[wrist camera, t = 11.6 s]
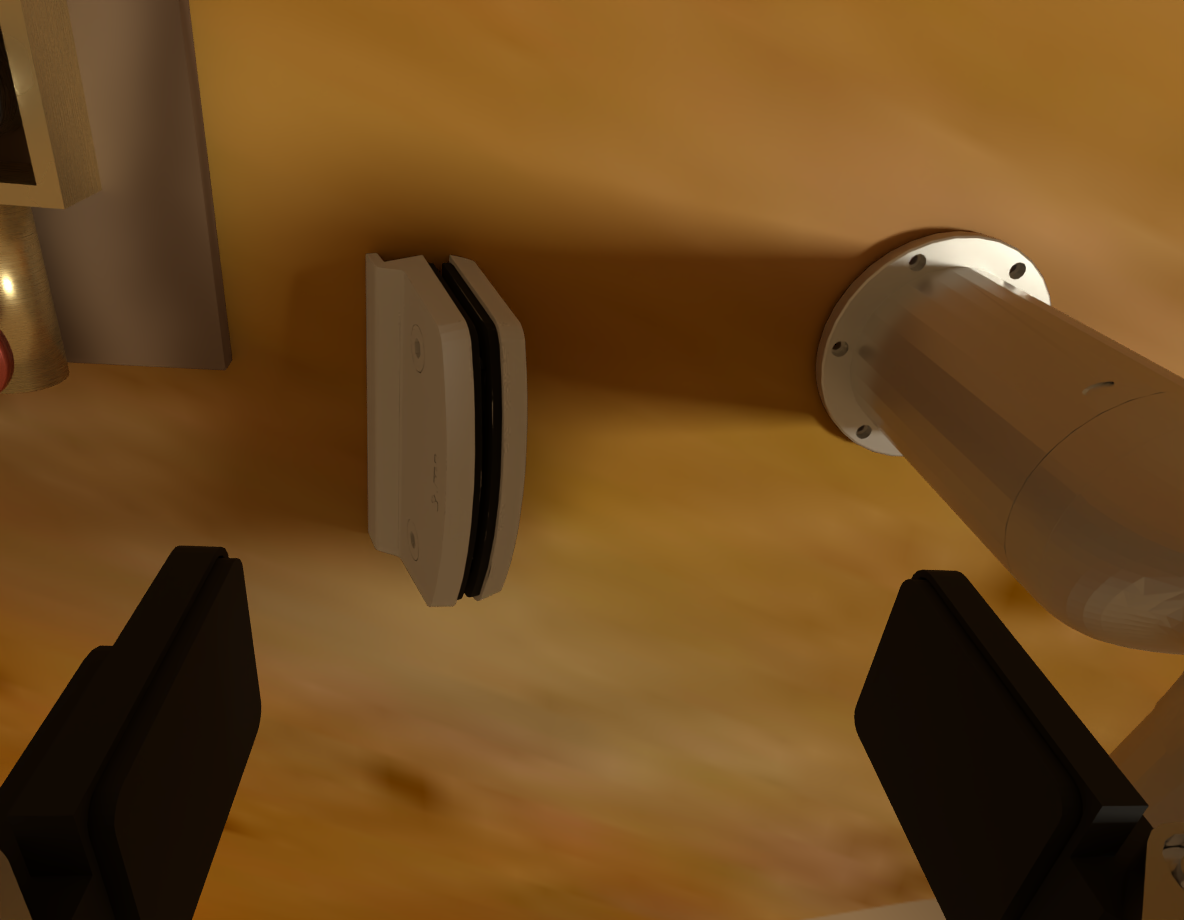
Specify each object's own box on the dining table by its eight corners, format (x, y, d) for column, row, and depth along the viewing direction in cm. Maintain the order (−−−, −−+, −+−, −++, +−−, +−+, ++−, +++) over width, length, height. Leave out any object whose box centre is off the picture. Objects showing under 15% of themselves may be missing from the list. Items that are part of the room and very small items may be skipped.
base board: (178, -80, 30) (168, -83, 29) (232, 360, 39) (225, 370, 38) (-249, -138, 28) (-277, -143, 27) (-89, 343, 37) (-105, 353, 36)
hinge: (365, 245, 37) (427, 323, 29) (463, 245, 39) (544, 318, 32) (368, 537, 45) (417, 656, 38) (448, 524, 47) (510, 635, 40)
